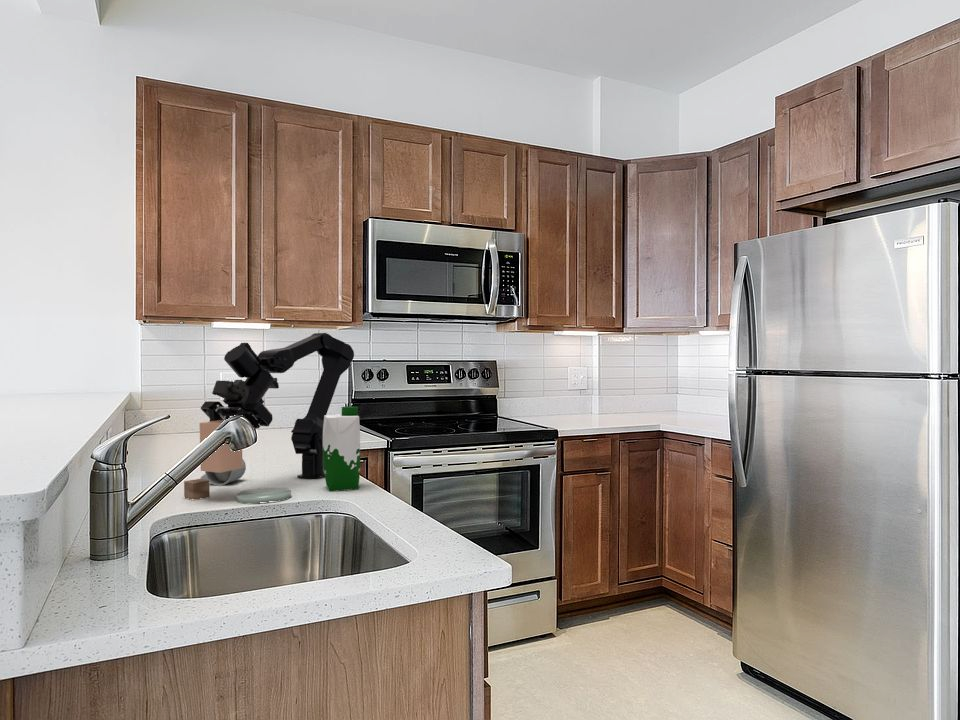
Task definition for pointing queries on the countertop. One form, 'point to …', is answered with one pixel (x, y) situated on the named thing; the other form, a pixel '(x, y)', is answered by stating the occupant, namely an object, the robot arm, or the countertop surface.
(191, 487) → the block
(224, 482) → the ceramic mug
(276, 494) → the dish
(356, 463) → the milk carton
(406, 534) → the countertop surface
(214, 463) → the pinkish brown brick
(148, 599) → the countertop surface
